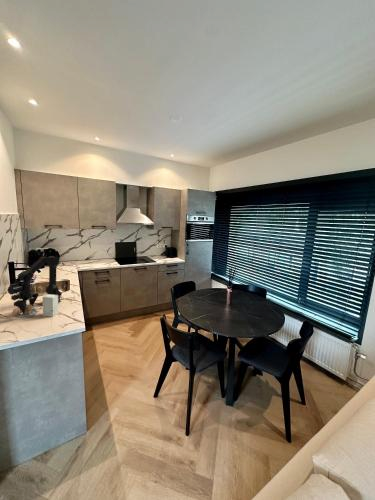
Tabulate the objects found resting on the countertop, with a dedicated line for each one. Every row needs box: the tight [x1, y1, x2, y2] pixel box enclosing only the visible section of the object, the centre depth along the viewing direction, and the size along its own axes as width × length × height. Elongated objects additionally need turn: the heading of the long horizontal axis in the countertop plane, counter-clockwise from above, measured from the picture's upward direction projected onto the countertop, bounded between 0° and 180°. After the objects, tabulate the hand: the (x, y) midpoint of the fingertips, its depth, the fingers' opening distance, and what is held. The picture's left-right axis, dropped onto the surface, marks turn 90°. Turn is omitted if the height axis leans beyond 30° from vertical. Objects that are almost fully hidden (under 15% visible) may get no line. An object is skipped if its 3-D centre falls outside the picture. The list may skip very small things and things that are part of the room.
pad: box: [16, 310, 39, 319], centre depth 154 cm, size 9×9×1 cm
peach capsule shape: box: [12, 307, 21, 317], centre depth 153 cm, size 4×4×4 cm
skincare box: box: [42, 294, 59, 318], centre depth 154 cm, size 8×6×15 cm
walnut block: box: [23, 304, 33, 315], centre depth 153 cm, size 4×4×6 cm
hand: (27, 310), depth 153 cm, fingers open, 9 cm apart
